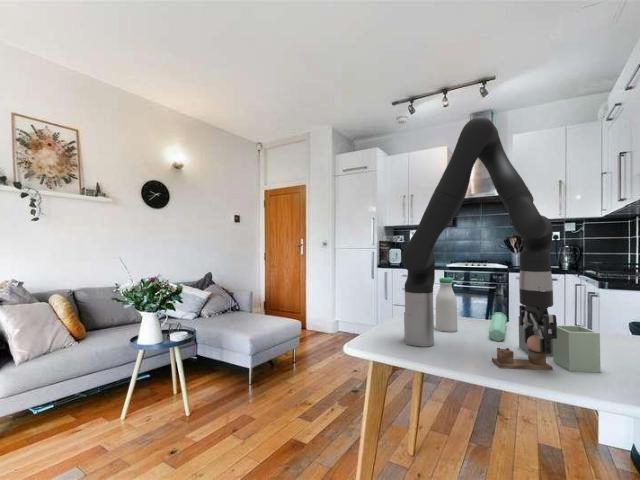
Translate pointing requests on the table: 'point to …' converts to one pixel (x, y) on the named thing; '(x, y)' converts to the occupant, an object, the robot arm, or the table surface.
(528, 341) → the terracotta ball
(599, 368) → the pair of storage bins
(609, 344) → the table surface
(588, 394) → the table surface
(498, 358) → the rack
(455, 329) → the milk bottle
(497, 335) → the container
